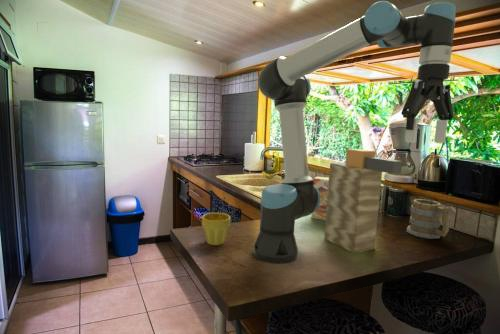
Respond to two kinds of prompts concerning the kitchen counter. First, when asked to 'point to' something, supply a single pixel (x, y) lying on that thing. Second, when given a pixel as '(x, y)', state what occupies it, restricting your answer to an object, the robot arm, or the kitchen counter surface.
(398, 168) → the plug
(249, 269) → the kitchen counter surface
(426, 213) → the tankard
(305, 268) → the kitchen counter surface
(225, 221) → the plant pot
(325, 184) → the coffeecake box
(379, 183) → the zigzag striped pillar
